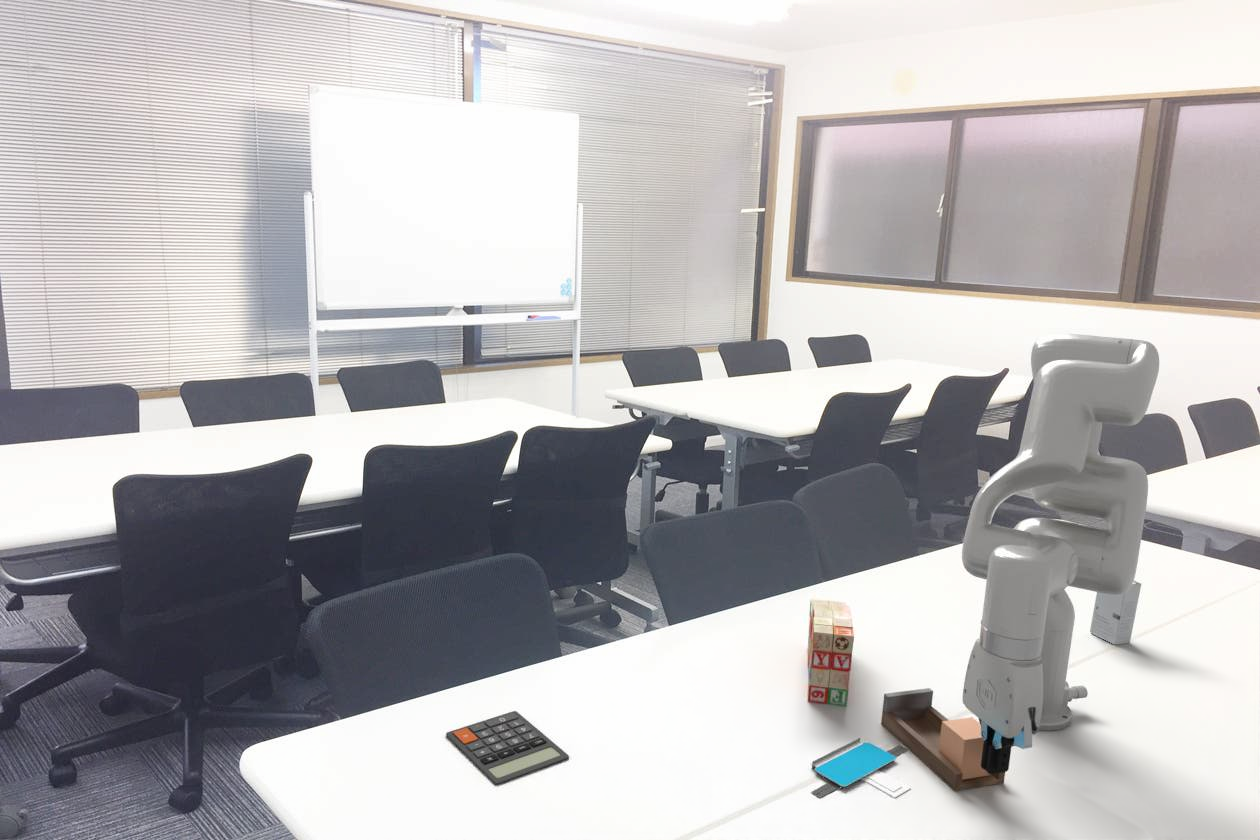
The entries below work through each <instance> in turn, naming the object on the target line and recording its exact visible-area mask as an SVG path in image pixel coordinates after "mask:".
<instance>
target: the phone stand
mask: <svg viewBox="0 0 1260 840" xmlns="http://www.w3.org/2000/svg"><path fill="white" fill-rule="evenodd" d="M908 750H909V749H908V748H907V747H903V746H901V745H896V746H894V747H893V748H891V749H888V750H885V749H882V748H881V747H878V746H876V745H874V744H873V743H871V742H868V741H866V742H863V743H862V742H861V737H858V738H857V739H855V740H853V741H851V742H849V743H847V744H845V745H843V746H841V747H839V748H837V749H835V750H832V751H831V752H829V753H827V754H825V755H823V756H821V757H820V758H817V759H815V760H813V761H812V762H811V763H812V764H811V763H809V764H810V765H811V769H814V771H815V772H816V773H817V774H818V775H820V776H821V777H822V778H821V780H823V781H824V782H826V783H825V784H822V785H821V786H819V787H818V788H815V789H814V790H812V791H810V793H811V794H813V795H815V796H816V797H818V798H822V797H824V796H825V795H828V794H829V793H831V794H832V793H833V792H835V791H837V790H839V789H841V788H842V787H843V788H845V787H847V786H849V785H851V784H854V783H855V782H857V781H858V780H862V781H863V782H865V783H867V784H869V785H870V786H872V787H874V788H876V789H877V790H879V791H881V792H883V793H884V794H886V795H888V796H890V797H892V798H893V799H896V798H898V797H900V796H901V795H902V794H905V793H906V792H908V791H910V790H911V787H909V786H908V785H906V784H904V783H902V782H900V781H899V780H896V779H895V778H893V777H891V776H889V775H888V774H886V773H884V772H883V771H880V770H879V769H881V768H882V767H884V766H886V765H888V764H889V763H891V762H893V761H896V759H897V757H899V756H900V755H901V754H903V753H905V752H907V751H908Z"/></svg>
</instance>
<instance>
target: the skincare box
mask: <svg viewBox="0 0 1260 840" xmlns="http://www.w3.org/2000/svg"><path fill="white" fill-rule="evenodd" d="M1141 587H1142V582H1139V581H1137V580H1135V579H1134V581H1133V584H1132V586H1131V588H1130V589H1129V590H1128V591H1127V592H1126V593H1124V594H1120V595H1111V594H1105V593H1100V592H1096V595H1095V601H1094V607H1093V613H1092V617H1091V624H1090V628H1089V633H1090V632H1091V633H1090V634H1092V635H1094V636H1096V637H1098V638H1099V639H1102V640H1103V639H1104V640H1103V641H1105V640H1106V641H1105V642H1107V641H1108V643H1109V642H1110V644H1111V643H1112V645H1124V644H1128V643H1130V642H1131V639H1132V634H1133V629H1134V623H1135V619H1136V613H1137V609H1138V602H1139V599H1140V593H1141Z"/></svg>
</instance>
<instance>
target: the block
mask: <svg viewBox="0 0 1260 840" xmlns="http://www.w3.org/2000/svg"><path fill="white" fill-rule="evenodd" d="M984 741H985V740H984V739H983V738H982V736H981V724H980V722H979V720H977V719H975V718H974V717H971V716H969V717H965V718H964V717H963V718H957V719H956V718H955V719H950V720H949V719H948V721H942V726H941V735H940V744H939V753H940V754H941V755H942V756H943V757H945V758H946V759H947V760H948V761H949V762H950V763H951V764H953V765H954V766H955V767H956V768H957V769H958V770H959V771H961V772H962V773H963V775H962V780H964V779H970V778H976V777H982V776H988V775H991V774H989V773H987V772H986V770H984V769H983V768H982V767H981V759H982V751H983V743H984Z"/></svg>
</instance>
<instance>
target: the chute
mask: <svg viewBox="0 0 1260 840" xmlns="http://www.w3.org/2000/svg"><path fill="white" fill-rule="evenodd" d="M933 695H934V691H933V689H931V688H929V687H927V688H920V689H911V690H904V691H903V690H902V691H897V692H889V693H883V701H882V711H881V712H882V714H881V721H880V724H881V725H882V727H884V728H885V729H886V730H887V731H888V733H891V734H892V735H893V736H894V737H895V738H896V739H897V740H898V741H899V742H900V743H901V744H902V745H903V746H905V748H906V749H908V750H909V751H910V752H911V753H912V754H914V756H915V757H917V758H918V759H919V760H920V762H922V763H923V764H924V765H925V766H926V767H927V768H929V769H930V770H931V771H932V772H933V773H934V774H935V775H936V776H937V777H938V778H939V779H940V780H942V781H943V782H944V783H945V784H946V785H947V786H948V787H949V788H951V790H953V791H954V792H958V791H963V790H969V789H975V788H981V787H987V786H994V785H999V784H1004V783H1005V776H1006V772H1001V773H995V774H991V775H988V776H982V777H976V778H970V779H964V780H962V775H963V773H962V772H961V771H959V770H958V769H957V768H956V767H955V766H954V765H953V764H951V763H950V762H949V761H948V760H947V759H946V758H945V757H943V756H942V755H941V754H940V753H939V744H940V735H941V726H942V721H948V720H949V719H948V718H947V717H945V716H944V715H943V714H942V713H941V712H940V711H939V710H937V709H936V708H935V707H933V706H932V705H933V698H934V696H933Z"/></svg>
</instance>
